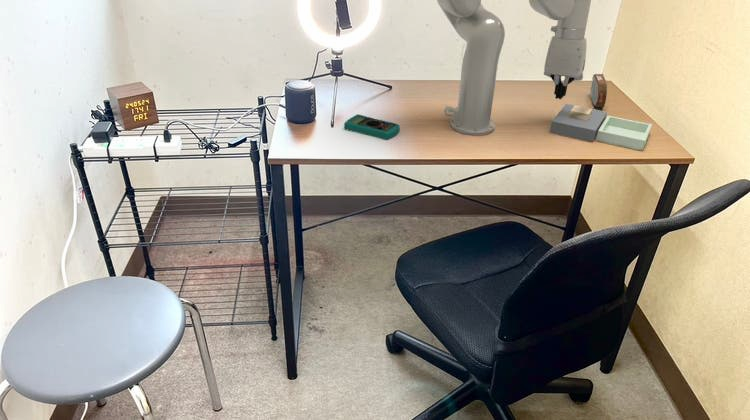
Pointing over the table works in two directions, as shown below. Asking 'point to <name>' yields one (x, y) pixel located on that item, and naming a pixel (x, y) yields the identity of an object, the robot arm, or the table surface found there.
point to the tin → (598, 90)
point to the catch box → (624, 133)
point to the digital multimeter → (372, 127)
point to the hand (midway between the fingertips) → (559, 97)
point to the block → (580, 113)
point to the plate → (577, 124)
